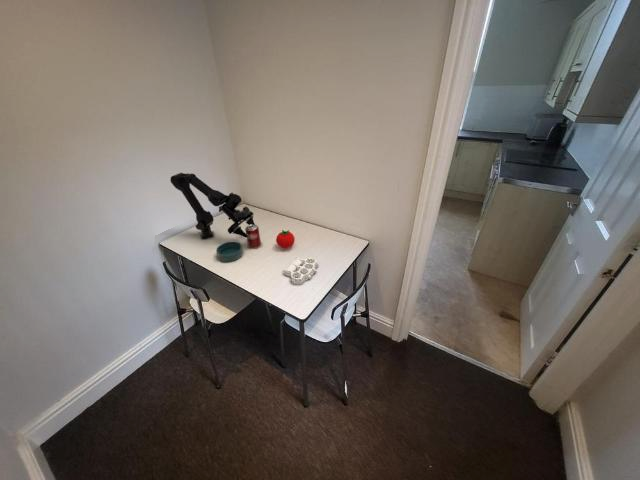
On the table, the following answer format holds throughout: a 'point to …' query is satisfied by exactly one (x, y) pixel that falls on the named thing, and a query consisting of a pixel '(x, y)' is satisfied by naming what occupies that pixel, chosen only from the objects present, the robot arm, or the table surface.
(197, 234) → the table surface
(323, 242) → the table surface
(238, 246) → the bowl
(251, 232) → the soda can
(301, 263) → the white muffin tray
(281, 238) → the tomato
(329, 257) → the table surface
